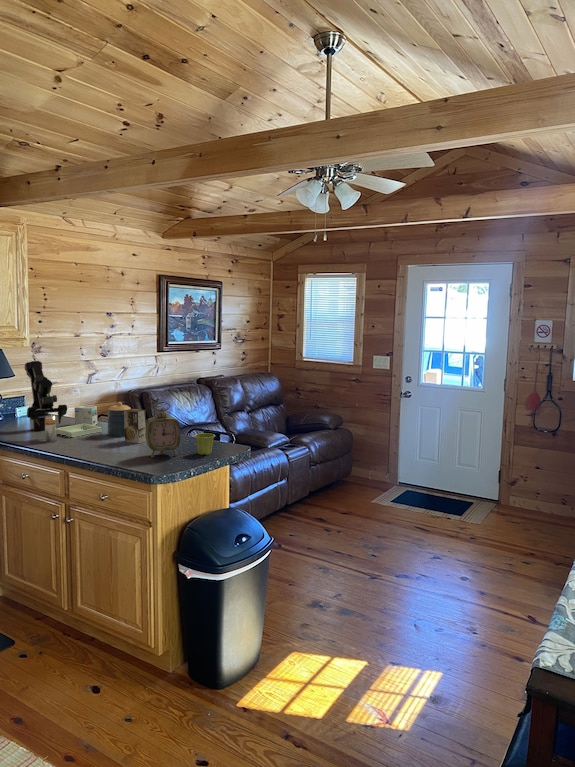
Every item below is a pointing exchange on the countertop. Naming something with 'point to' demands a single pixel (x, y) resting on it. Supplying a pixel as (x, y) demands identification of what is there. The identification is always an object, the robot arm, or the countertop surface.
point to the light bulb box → (86, 415)
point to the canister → (116, 420)
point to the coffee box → (135, 425)
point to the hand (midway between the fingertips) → (50, 424)
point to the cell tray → (78, 430)
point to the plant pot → (204, 443)
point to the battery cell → (50, 428)
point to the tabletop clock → (162, 432)
